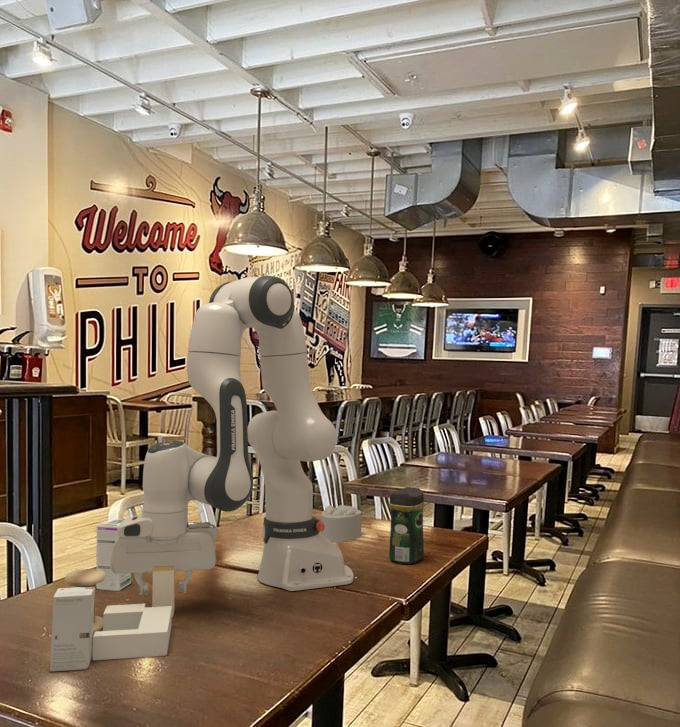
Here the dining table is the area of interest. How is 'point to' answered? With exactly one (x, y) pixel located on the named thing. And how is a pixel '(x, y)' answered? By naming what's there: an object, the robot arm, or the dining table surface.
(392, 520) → the coffee jar
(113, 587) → the syrup box
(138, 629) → the notched board
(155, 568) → the gold trimmed white carton
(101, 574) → the spool
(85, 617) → the skincare box
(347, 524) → the lumpy-topped squat cylinder
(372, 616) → the dining table surface
